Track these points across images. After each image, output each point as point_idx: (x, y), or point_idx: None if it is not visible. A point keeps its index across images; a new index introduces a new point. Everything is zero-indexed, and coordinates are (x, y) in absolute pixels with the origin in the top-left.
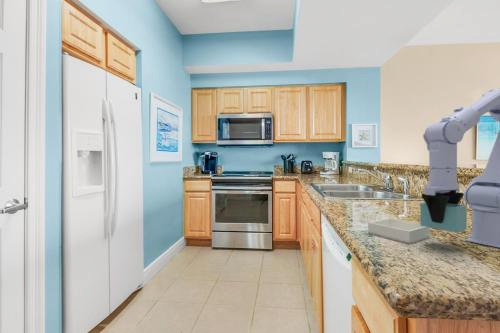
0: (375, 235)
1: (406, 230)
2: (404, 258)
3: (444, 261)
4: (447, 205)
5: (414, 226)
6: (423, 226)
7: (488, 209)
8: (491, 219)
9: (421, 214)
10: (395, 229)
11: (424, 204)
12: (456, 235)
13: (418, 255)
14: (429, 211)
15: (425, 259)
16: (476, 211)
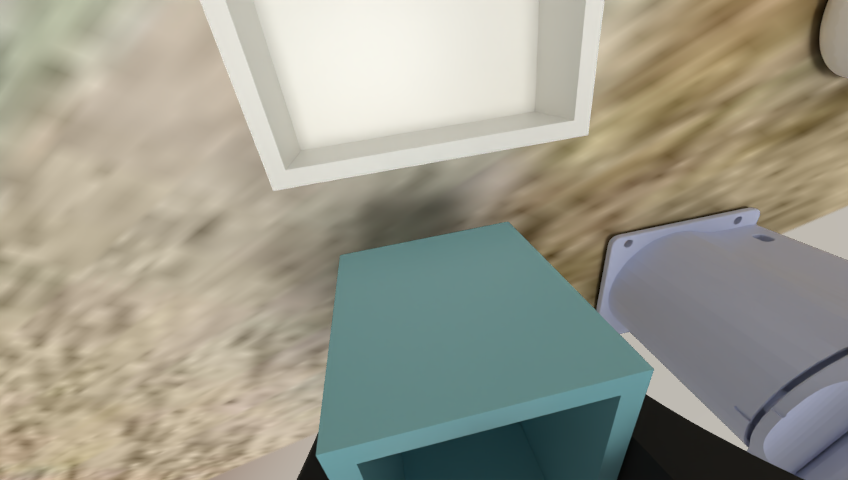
0: None
1: (273, 162)
2: (84, 302)
3: (254, 357)
4: (579, 471)
5: (567, 12)
6: (527, 129)
7: (770, 449)
8: (703, 399)
9: (335, 327)
10: (229, 62)
11: (332, 474)
12: (701, 155)
13: (195, 294)
14: (312, 450)
15: (189, 330)
16: (777, 382)
